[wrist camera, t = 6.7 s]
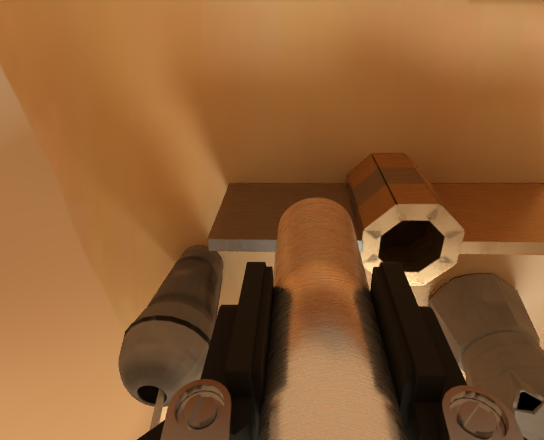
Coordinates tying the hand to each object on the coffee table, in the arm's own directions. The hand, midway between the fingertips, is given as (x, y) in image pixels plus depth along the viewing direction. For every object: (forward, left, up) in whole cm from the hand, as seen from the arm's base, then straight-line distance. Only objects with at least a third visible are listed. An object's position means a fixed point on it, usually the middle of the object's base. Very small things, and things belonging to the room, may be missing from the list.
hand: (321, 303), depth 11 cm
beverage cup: (-19, -1, -23) cm, 30 cm away
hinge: (-1, -9, -23) cm, 25 cm away
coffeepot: (-5, -27, -23) cm, 36 cm away
